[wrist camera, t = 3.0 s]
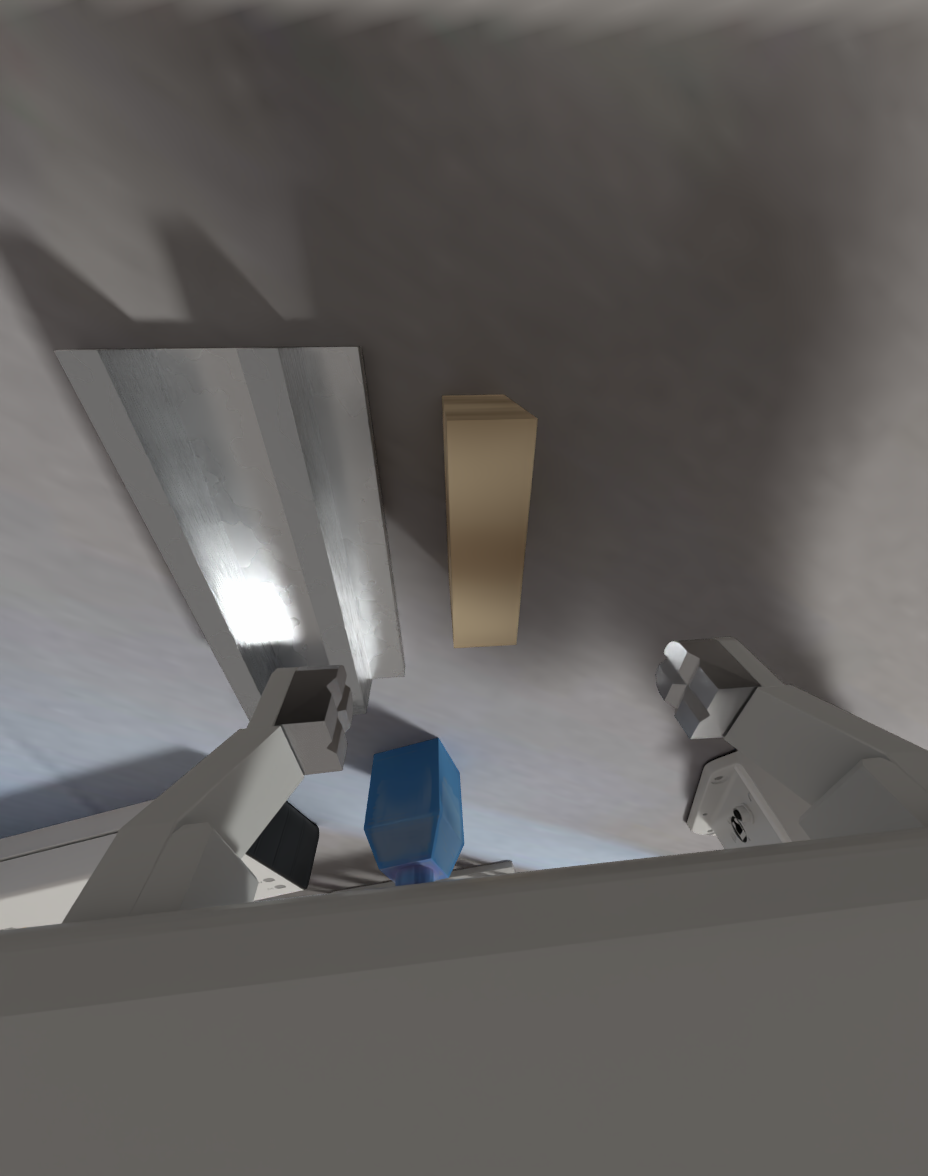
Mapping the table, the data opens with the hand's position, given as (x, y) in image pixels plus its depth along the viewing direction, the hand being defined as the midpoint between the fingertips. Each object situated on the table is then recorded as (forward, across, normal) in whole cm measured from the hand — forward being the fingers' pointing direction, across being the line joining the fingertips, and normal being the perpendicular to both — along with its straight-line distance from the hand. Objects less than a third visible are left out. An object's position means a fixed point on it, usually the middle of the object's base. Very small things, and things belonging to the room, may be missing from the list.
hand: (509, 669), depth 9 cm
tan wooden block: (+14, 0, 0) cm, 14 cm away
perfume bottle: (+13, +4, +26) cm, 30 cm away
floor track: (+14, +10, +3) cm, 17 cm away
